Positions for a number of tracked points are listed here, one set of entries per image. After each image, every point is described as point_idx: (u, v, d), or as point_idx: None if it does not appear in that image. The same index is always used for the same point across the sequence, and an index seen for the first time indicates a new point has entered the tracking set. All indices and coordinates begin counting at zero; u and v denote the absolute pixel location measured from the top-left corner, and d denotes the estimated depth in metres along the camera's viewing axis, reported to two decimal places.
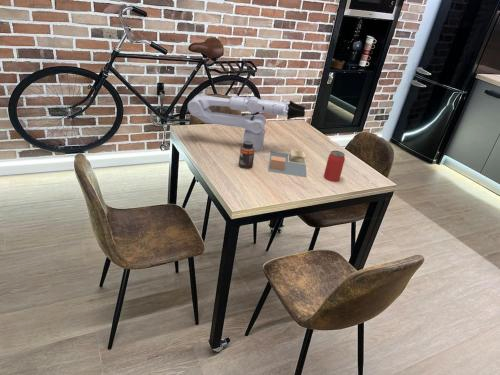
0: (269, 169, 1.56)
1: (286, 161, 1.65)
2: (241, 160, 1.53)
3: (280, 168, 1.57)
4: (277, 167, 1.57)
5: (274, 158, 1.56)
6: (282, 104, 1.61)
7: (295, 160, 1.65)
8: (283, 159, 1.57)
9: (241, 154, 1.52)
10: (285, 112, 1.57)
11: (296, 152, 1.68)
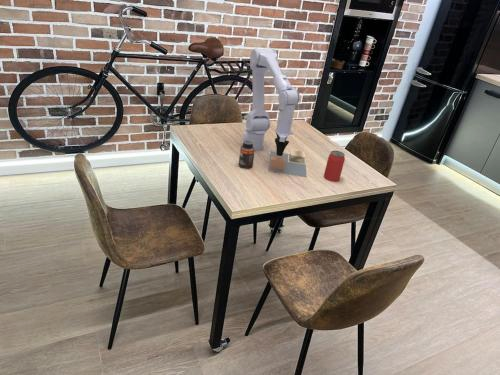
0: (269, 169, 1.56)
1: (286, 161, 1.65)
2: (241, 160, 1.53)
3: (280, 168, 1.57)
4: (277, 167, 1.57)
5: (274, 158, 1.56)
6: (289, 131, 1.49)
7: (295, 160, 1.65)
8: (283, 159, 1.57)
9: (241, 154, 1.52)
10: (283, 140, 1.45)
11: (296, 152, 1.68)
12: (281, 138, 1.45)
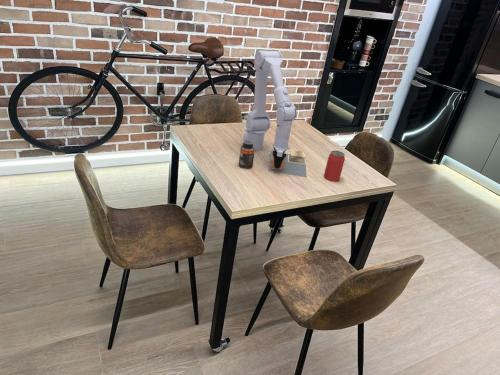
0: (269, 169, 1.56)
1: (286, 161, 1.65)
2: (241, 160, 1.53)
3: (280, 168, 1.57)
4: None
5: None
6: (286, 145, 1.52)
7: (295, 160, 1.65)
8: (283, 159, 1.57)
9: (241, 154, 1.52)
10: (280, 154, 1.48)
11: (296, 152, 1.68)
12: (278, 153, 1.48)
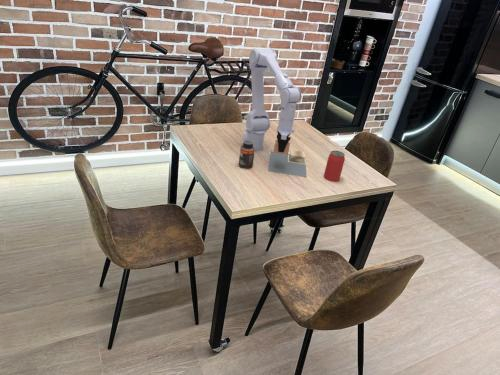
0: (269, 169, 1.56)
1: (286, 161, 1.65)
2: (241, 160, 1.53)
3: (285, 153, 1.54)
4: None
5: None
6: (290, 129, 1.49)
7: (295, 160, 1.65)
8: (287, 143, 1.54)
9: (241, 154, 1.52)
10: (285, 137, 1.45)
11: (296, 152, 1.68)
12: (283, 136, 1.45)
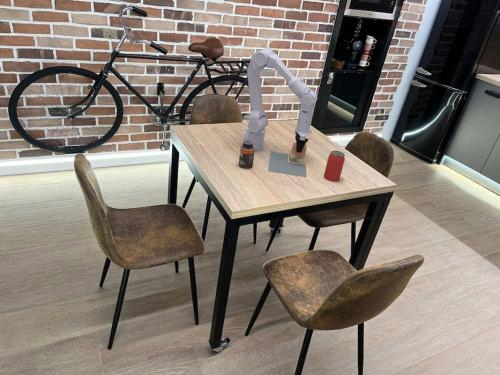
0: (269, 169, 1.56)
1: (286, 161, 1.65)
2: (241, 160, 1.53)
3: (302, 155, 1.65)
4: (298, 153, 1.64)
5: None
6: (308, 130, 1.59)
7: (295, 160, 1.65)
8: (304, 146, 1.65)
9: (241, 154, 1.52)
10: (303, 138, 1.55)
11: None
12: (301, 137, 1.55)
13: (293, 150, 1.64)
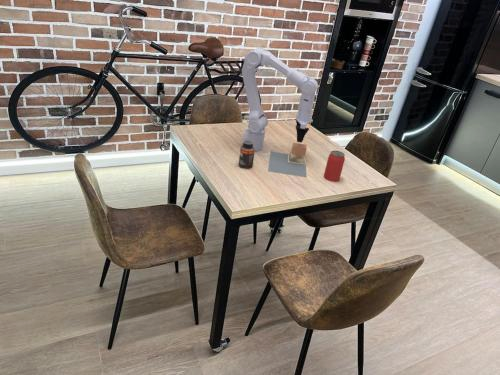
0: (269, 169, 1.56)
1: (286, 161, 1.65)
2: (241, 160, 1.53)
3: (302, 155, 1.65)
4: (298, 153, 1.64)
5: (296, 145, 1.64)
6: (309, 119, 1.58)
7: (295, 160, 1.65)
8: (304, 146, 1.65)
9: (241, 154, 1.52)
10: (304, 126, 1.54)
11: None
12: (302, 125, 1.54)
13: (293, 150, 1.64)
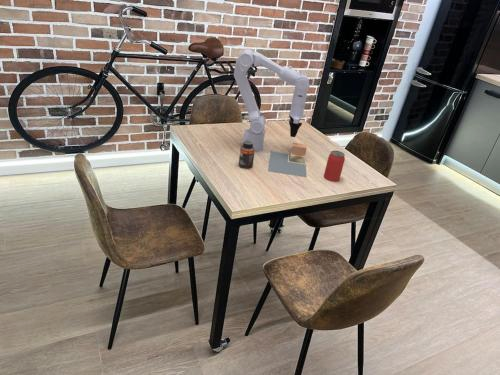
0: (269, 169, 1.56)
1: (286, 161, 1.65)
2: (241, 160, 1.53)
3: (302, 155, 1.65)
4: (298, 153, 1.64)
5: (296, 145, 1.64)
6: (302, 114, 1.62)
7: (295, 160, 1.65)
8: (304, 146, 1.65)
9: (241, 154, 1.52)
10: (297, 121, 1.58)
11: None
12: (295, 120, 1.58)
13: (293, 150, 1.64)
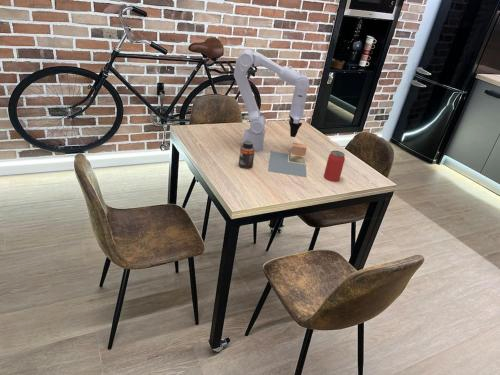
0: (269, 169, 1.56)
1: (286, 161, 1.65)
2: (241, 160, 1.53)
3: (302, 155, 1.65)
4: (298, 153, 1.64)
5: (296, 145, 1.64)
6: (302, 114, 1.62)
7: (295, 160, 1.65)
8: (304, 146, 1.65)
9: (241, 154, 1.52)
10: (297, 121, 1.58)
11: None
12: (295, 120, 1.58)
13: (293, 150, 1.64)
